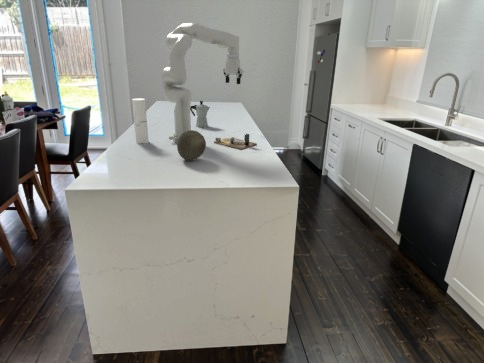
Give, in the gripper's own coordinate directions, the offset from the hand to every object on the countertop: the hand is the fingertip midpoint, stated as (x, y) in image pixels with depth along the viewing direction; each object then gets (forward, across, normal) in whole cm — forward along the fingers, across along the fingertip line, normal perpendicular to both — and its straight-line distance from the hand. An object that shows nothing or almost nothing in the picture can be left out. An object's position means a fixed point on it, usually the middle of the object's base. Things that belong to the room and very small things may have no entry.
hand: (232, 83), depth 228 cm
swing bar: (+30, +31, -30) cm, 52 cm away
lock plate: (+31, +27, -29) cm, 50 cm away
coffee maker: (+31, -23, -9) cm, 40 cm away
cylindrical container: (+31, -16, -64) cm, 73 cm away
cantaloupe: (+31, +30, -67) cm, 80 cm away
